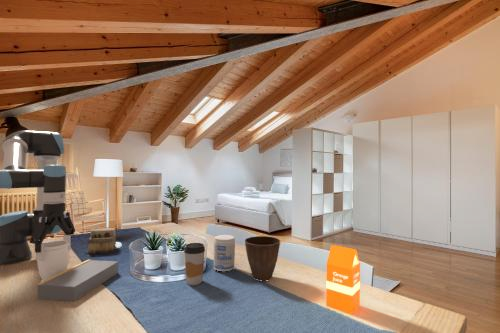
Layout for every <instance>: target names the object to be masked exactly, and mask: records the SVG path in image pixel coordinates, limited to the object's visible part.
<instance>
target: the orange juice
mask: <svg viewBox="0 0 500 333" xmlns="http://www.w3.org/2000/svg"><path fill="white" fill-rule="evenodd" d="M325 283H326V284H325V285H326V287H325V289H326V297H325V298H326V299H325V300H326V303H325V304H326V305H325V306H326V307H329V308H333V309H335V310H338V311H341V312H343V313H345V314H349V315H353V314H354V313H355V312H356V311H357V309H358V308H359V307H360V305H361V304H360V302H361V300H360V297H361V295H360V294H361V293H360V291H361V288H360V287H361V263H360V260H359V256H358V252H357V249H355V248H349V247H345V246H340V245H334V244H331V246H330V250H329V253H328V257H327V261H326V281H325ZM354 311H355V312H354Z"/></svg>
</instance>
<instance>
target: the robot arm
mask: <svg viewBox="0 0 500 333" xmlns="http://www.w3.org/2000/svg"><path fill="white" fill-rule="evenodd" d="M1 144H2V145H1V149H2V151H3V154H4V156H3V166H2V169H0V189H7V190H10V189H27V188H28V189H29V188H36V190H37V192H36V207H34V208H33V209H32V210H33V212H32V213H30V212H29V211H28V210H18V211H13V212H8V213H5V214H4V213H3V214H1V215H0V266H3V265H11V264H18V263H21V262H25V261H28V260H29V259H31V258H33V251H31V247H30V245H29V244H34V253H35V261H36V262H37V261H43V260H44V243H45V242H44V241H45V238H46V237H47V235H53V234H58V233H60V232H61V231H62V232H63V233H64V234H63V240H62V241H68V242H69V245H68V246H67V247H68V250H69V251H71V246H72V245H71V242H72V235H74V234H75V232H76V228H75V226H74V223H73V221H72V218H71V214H70V213H71V212H70V211H69V212H67V211H66V210H67V209H66V204H67V203H66V191H67V190H66V185H67V184H66V182H67V180H66V178H67V177H66V176H67V171H66V166H65V165H63V164H58V160H59V159H61V156H62V155H64V154H65V145H64V144H65V143H64V140H63V136H62V134H61V133H59V132H54V131H42V130H40V131H39V130H30V129H29V130H25V129H24V130H18V131H15V132H13V133H11V134H9V135H8V136H6V137H5V138H4V140H3V141H2V143H1ZM26 154H33V158H34V159H36V160H37V161H36V164H37V165H36V166H37V167H36V168H37V169H27V166H26V165H27V164H26V161H27V160H26ZM29 237H30V238H29ZM28 238H29V240H28Z"/></svg>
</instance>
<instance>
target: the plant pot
mask: <svg viewBox="0 0 500 333" xmlns="http://www.w3.org/2000/svg"><path fill="white" fill-rule="evenodd" d="M244 243H245V244H244V245H245V252H246V257H247V261H248V265H249V268H250V271H251V272H250V273H251V276H252V277H253V279H254V278H255V279H258V280H262V281H261V282H267V281H266V280H269V281H271V280H272V277H273V275H274V271H275V269H276V265H277V261H278V256H279V251H280V245H281V240H280V239H279V238H277V237H273V236H266V235H265V236H264V235H261V236H250V237H247V238H245V239H244ZM255 279H254V280H255Z"/></svg>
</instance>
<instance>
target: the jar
mask: <svg viewBox="0 0 500 333" xmlns="http://www.w3.org/2000/svg"><path fill="white" fill-rule="evenodd" d="M43 243H44V260H43V261H36V262H37V268H38V273H39V277H40V278H41V280H40V282H42V281H45V280H47V279H49V278H51V277H53V276H55V275H57V274H59V273H61V272H63V271H65V270H67V269H68V265H69V261H70V250H68V247H67V246H68V245H69V242H68V241H63V240H55V241H49V242H43Z"/></svg>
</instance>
